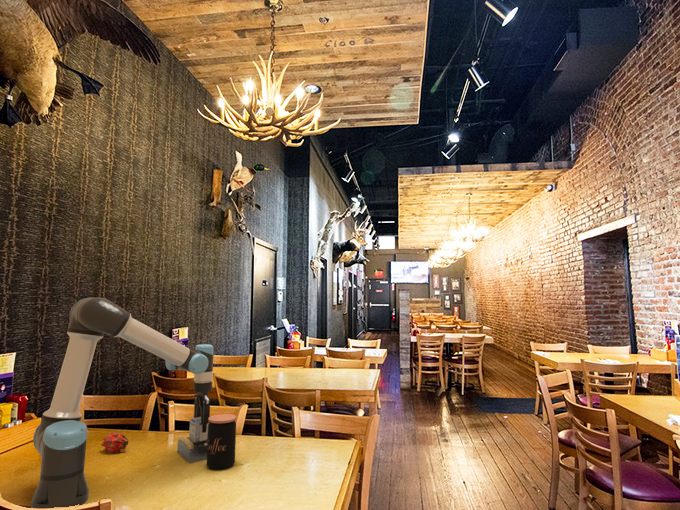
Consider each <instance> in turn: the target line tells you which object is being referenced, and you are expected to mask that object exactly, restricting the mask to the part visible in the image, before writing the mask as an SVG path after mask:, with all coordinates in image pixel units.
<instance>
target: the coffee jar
mask: <svg viewBox="0 0 680 510" xmlns="http://www.w3.org/2000/svg"><path fill="white" fill-rule="evenodd" d="M208 421H209V424H208V439H207V459H206V466H207V468H208V469H209V470H212V471H224V470H228V469H230V468H232V467H233V465H234V464H235V461H236V437H237V422H236V421H237V416H236V415H235V414H232V413H231V414H229V413H221V414H220V413H219V414H215V415H212V416H211V415H210V417H209V418H208Z"/></svg>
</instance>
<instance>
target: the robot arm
mask: <svg viewBox="0 0 680 510" xmlns="http://www.w3.org/2000/svg"><path fill="white" fill-rule="evenodd" d="M68 316H69V324H68V327H67V332H66V334H67V335H68V336H69V342H68V343H67V348H66V351H65V352H66V353H65V355H64V358H63V362H62V364H61V365H62V366H61V369H60V372H59V374H58V375H59V377H58V379H57V383H56V386H55V390H54V394H53V397H52V399H51V403H50V407H49V409H47V410H46V411H44V412H43V413H42V416H41V420H40V423H39V424H38V426H37V427H36V428H35V431H34V434H33V439H32V440H33V445H34V448H35V450H36V451H37V452H38V453H39V454H40V456H41V465H40V476H39V481H38V484H37V487H36V488H35V491H34V493H33V495H32V498H31V500H30V507H33V508H54V507H69V506H75V505H78V504H81V505H83V504H84V503H86V502H87V500H88V499H89V492H90V489H89V486H88V482H87V478H86V475H85V464H86V451H87V438H88V426H87V424H86V423H85V422H83V421H81V420H82V416H83V414H82V413H81V412H80V406H81V403H82V399H83V394H84V392H85V387H86V384H87V380H88V378H89V377H88V376H89V372H90V369H91V365H92V361H93V358H94V355H95V352H96V351H95V350H96V347H97V343H98V341H100V340H102V339H103V338H104V336H105V335H108V336H109V337H111V338H121V339H123V340H125V341H127V342H129V343H131V344H133V345H135V346H136V347H139V348H142V349H143V350H145V351H147V352H149V353H151V354H153V355H155V356H157V357H159V358H161V359H163V360H165V361H164V362H165V367H166V369H167V370H168V371H184V372H188V373H192V374H193V382H194V383H193V392H194V393H197V394H194V395H193V396H194V404H193V405H194V406H193V408H194V409H193V418H197V417H201V423H199V425H200V438H199V441H203V440H206V439H207V424H208V423H209V421H208V418H209V417H211V415H210V414H211V401H212V400H211V399H212V398H209V392H211V391H212V390H213V382H212V381H213V375H214V371H213V369H214V356H215V354H214V350H215V349H214V346H213V345H212V344H209V343H206V344H197V345H195V348H194V349H190V348H188V347H187V346H185V345H183V344H182V343H180V342H178V341H175V340H174V339H172V338H170V337H169V336H166V335H165V334H163V333H162V332H159V331H157V330H155V329H154V328H152V327H150V326H148V325H146V324H144V323H143V322H141V321H139V320H137V319H135V318H133V317H132V314H131V312H128V311H127V310H125V309H123V308H122V307H120V306H119V305H117V304H116V303H115V302H112V301H111V300H110V299H107V298H104V297H86V298H82V299H80V300H78V301H77V302H75V303H74V304H73V305H72V307H71V309H70V311H69V315H68Z"/></svg>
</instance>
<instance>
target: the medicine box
mask: <svg viewBox="0 0 680 510" xmlns="http://www.w3.org/2000/svg"><path fill="white" fill-rule="evenodd" d="M199 423H201V417H197V418H194V417H193V418H192V417H191V418H190V419H189V430H188V431H189V433H188V434H189V435H188V437H189V440H190V441H192V442H197V441H199V438H200V425H199ZM208 424H209V423H208ZM208 424H207V439H208Z"/></svg>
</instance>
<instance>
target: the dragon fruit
mask: <svg viewBox="0 0 680 510" xmlns="http://www.w3.org/2000/svg"><path fill="white" fill-rule="evenodd" d="M129 442H130V441H129V439H128V438H127V437H126V435H124V434H121V433H120V432H118V431H116V432H115V431H112V432H111V433H108V434H107V435H106V436H104V437H103V441H102V443H101V447H104V451H105V453H108V452H111V453H114V454H120V453H121V451H122V450H125V449H126V448H127V446H128V445H129Z"/></svg>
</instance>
